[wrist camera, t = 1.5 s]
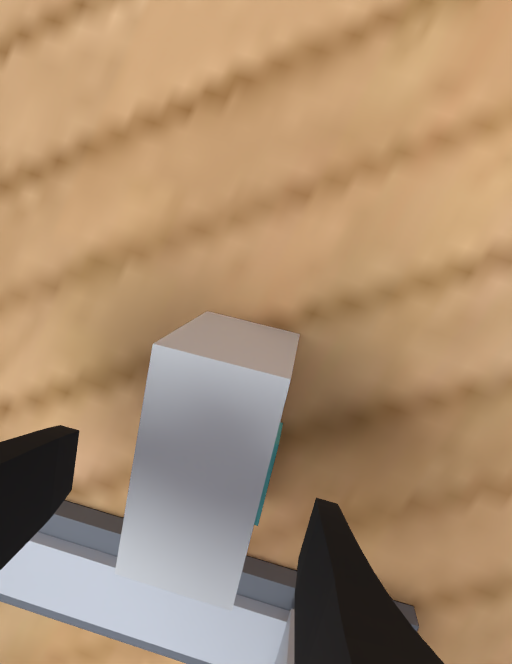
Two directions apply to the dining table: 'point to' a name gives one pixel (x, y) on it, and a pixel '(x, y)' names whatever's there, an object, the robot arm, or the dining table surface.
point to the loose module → (204, 455)
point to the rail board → (150, 597)
